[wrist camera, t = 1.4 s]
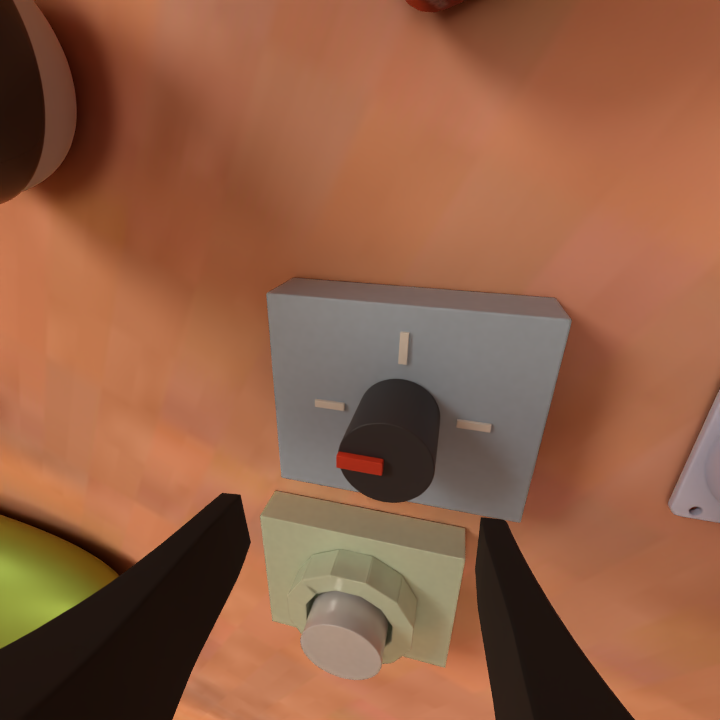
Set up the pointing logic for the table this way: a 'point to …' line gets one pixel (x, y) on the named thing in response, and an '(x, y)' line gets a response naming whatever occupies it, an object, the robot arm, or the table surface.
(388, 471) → the lock dial
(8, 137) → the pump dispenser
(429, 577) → the button base
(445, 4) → the snack package
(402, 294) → the dial panel
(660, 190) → the table surface
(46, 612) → the green scoop
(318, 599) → the button
